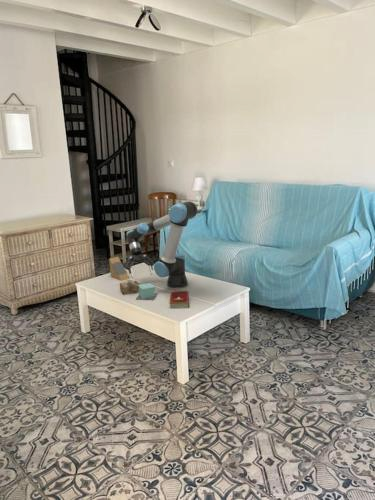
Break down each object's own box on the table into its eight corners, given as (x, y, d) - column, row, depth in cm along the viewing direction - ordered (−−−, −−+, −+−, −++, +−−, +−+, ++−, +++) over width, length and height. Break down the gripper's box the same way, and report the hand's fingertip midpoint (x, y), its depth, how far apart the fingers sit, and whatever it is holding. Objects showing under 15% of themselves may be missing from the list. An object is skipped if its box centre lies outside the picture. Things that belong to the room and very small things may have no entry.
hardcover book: (188, 296, 269) (188, 290, 268) (188, 308, 248) (188, 302, 247) (170, 296, 269) (170, 290, 268) (169, 309, 249) (169, 302, 247)
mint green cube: (151, 292, 275) (151, 283, 273) (155, 297, 267) (154, 287, 265) (138, 294, 272) (138, 284, 270) (142, 299, 264) (141, 289, 262)
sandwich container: (121, 281, 303) (120, 262, 299) (110, 277, 314) (108, 258, 310) (130, 278, 309) (129, 259, 305) (119, 274, 319) (118, 256, 316)
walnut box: (136, 287, 288) (135, 277, 287) (140, 292, 278) (139, 282, 277) (120, 289, 284) (119, 280, 283) (123, 294, 274) (122, 284, 273)
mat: (157, 293, 274) (157, 293, 274) (153, 300, 263) (153, 299, 262) (140, 293, 276) (140, 292, 276) (135, 299, 265) (135, 298, 264)
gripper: (151, 250, 290) (158, 275, 281) (117, 254, 282) (123, 281, 272) (153, 244, 284) (160, 270, 275) (118, 249, 276) (125, 275, 266)
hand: (142, 275), depth 273 cm, fingers open, 13 cm apart
